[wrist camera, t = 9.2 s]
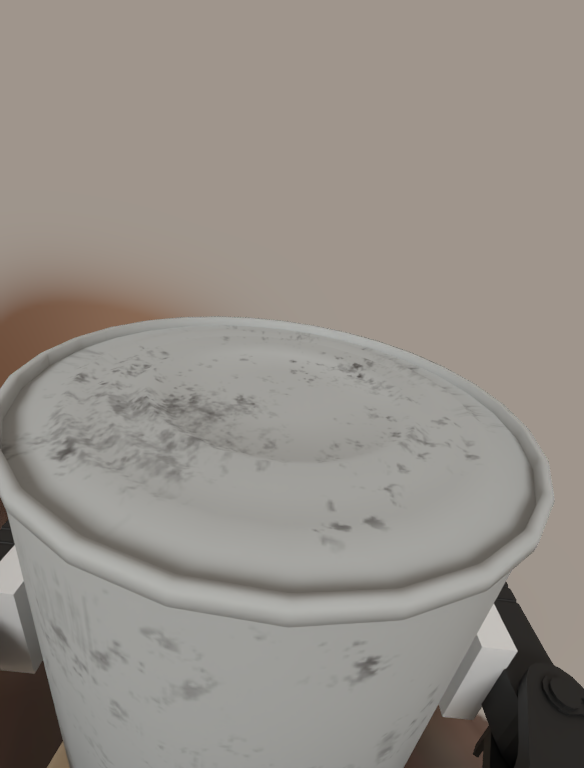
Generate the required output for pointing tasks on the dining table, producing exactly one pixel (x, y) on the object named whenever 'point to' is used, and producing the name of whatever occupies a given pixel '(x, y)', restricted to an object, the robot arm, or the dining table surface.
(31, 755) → the dining table surface
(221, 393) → the speckled tin can
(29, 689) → the dining table surface
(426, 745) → the dining table surface
